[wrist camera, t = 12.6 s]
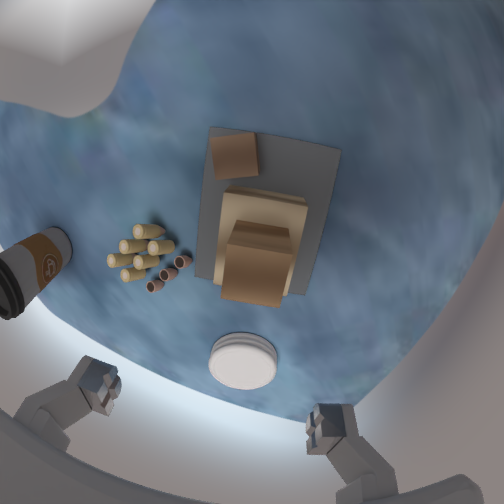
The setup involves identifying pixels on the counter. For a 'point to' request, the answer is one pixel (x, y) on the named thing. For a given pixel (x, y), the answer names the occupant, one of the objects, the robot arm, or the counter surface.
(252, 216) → the base block
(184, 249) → the counter surface
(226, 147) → the block
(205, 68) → the counter surface
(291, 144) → the mat
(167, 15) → the counter surface
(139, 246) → the ammunition
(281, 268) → the oak block
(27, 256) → the coffee cup
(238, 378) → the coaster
